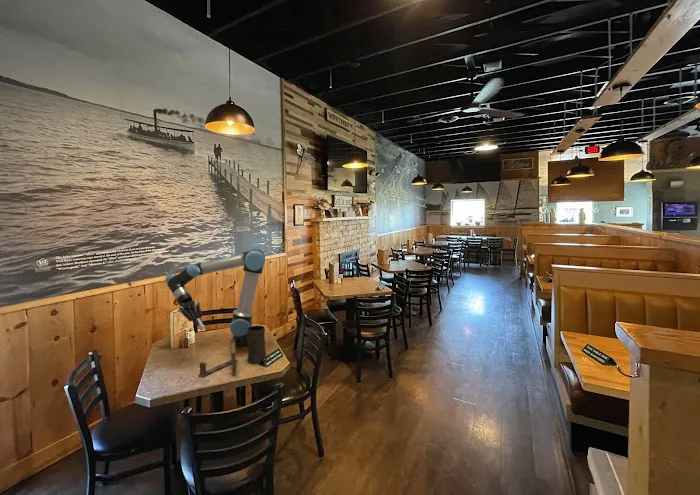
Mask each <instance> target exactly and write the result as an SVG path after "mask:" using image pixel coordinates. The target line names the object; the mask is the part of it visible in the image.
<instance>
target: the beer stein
mask: <svg viewBox="0 0 700 495" xmlns="http://www.w3.org/2000/svg"><path fill="white" fill-rule="evenodd" d="M265 331H266V329H265V326H264V325H252V327H249V328H248V330H247V333H248V346H247V362H248V363H249V364H253V365H255V364H256V365H257V364H261V363H260V362H261V361H262V360H263V359H265V358H266V359H267V352H266V341H265Z"/></svg>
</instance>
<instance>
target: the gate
mask: <svg viewBox="0 0 700 495" xmlns="http://www.w3.org/2000/svg"><path fill="white" fill-rule="evenodd" d="M236 354H237V353H236V346H235V342H231V341H230V356H231V355H232V364H231V374H237V362H236V360H237V358H236V356H237V355H236Z"/></svg>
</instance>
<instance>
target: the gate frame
mask: <svg viewBox="0 0 700 495" xmlns="http://www.w3.org/2000/svg"><path fill="white" fill-rule="evenodd" d="M231 342H235V340H232V339H230V343H231ZM237 362H239V360H238V359H236V363H237ZM229 366H232V355H231V354H230V360H227V361H225V362H223V363H220V364H219V365H216V366H214V367H213V368H212V367H211V368H210V369H207V364H206V362H203V361H201V362H199V373H198V377H199V378H205V377H207V376H209V375H212V374H214V373H216V372H219V371H221V370H222V369H225V368H227V367H229Z"/></svg>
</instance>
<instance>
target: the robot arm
mask: <svg viewBox="0 0 700 495" xmlns="http://www.w3.org/2000/svg"><path fill="white" fill-rule="evenodd" d="M265 262H266V256H265V253H264V252H263V251H262V250H260V249H258V248H252V249H250V250H247V251H243V252H241V254H237V255H232V256H228V257H223V258H218V259H214V260H209V261H205V262H200V263H192V264H190V265H188V266H187V267H186V268H184V269H183V270H181V271H180V272H179V273H171V274H168V276H167V275H166V276H167V277H166V278H165V279H164V280H165V283H166V285H167V287H168V288H169V291H170V292H171V293H172V295H173V296H174V298H175V300H176V302H177V303H178V305H179V306H180V307H179V308H178V309H177V311H178V312H179V313H181V314H182V315H183V316H184V318H186V319H187V320H188V322H191V323H194V324H195V326H197V327H198V329H199V331H203V330H204V329H205V325H204V324H203V323H204V321H203V320H202V317H203V316H204V315H203V312H202V310H201V306H200V302H196V301H195V300H193V297H192V296H191V294H190V293H189V291H188V290H187V288H186V286H185V285H187V284H188V283H189V282H191V281H193V280H194V279H195V278H197V277H198V276H203V275H206V274H211V273H217V272H220V271H226V270H230V269H235V268H239V267H243V269H242V270H243V272H244V276H243V279H242V280H243V281H242V285H241V288H240V289H241V290H240V294H239V299H238V303H237V309H234V310H233V311H232V319H231V322H230V325H229V330H230V332H231V334H232V336H231V337H232V338H231V340H235V348H236V347H237V348H238V347H239V348H240V347H241V348H242V347H244V348H245V347H248V333H247V330H248V328H249V327H252V326H253V322H252V319H253V312H252V309H253V304H254V300H255V299H254V298H255V295H256V292H257V291H256V290H257V287H258V286H257V285H258V282H259V281H258V280H259V277H260V275H262V273H263V270H264V266H265Z"/></svg>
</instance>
